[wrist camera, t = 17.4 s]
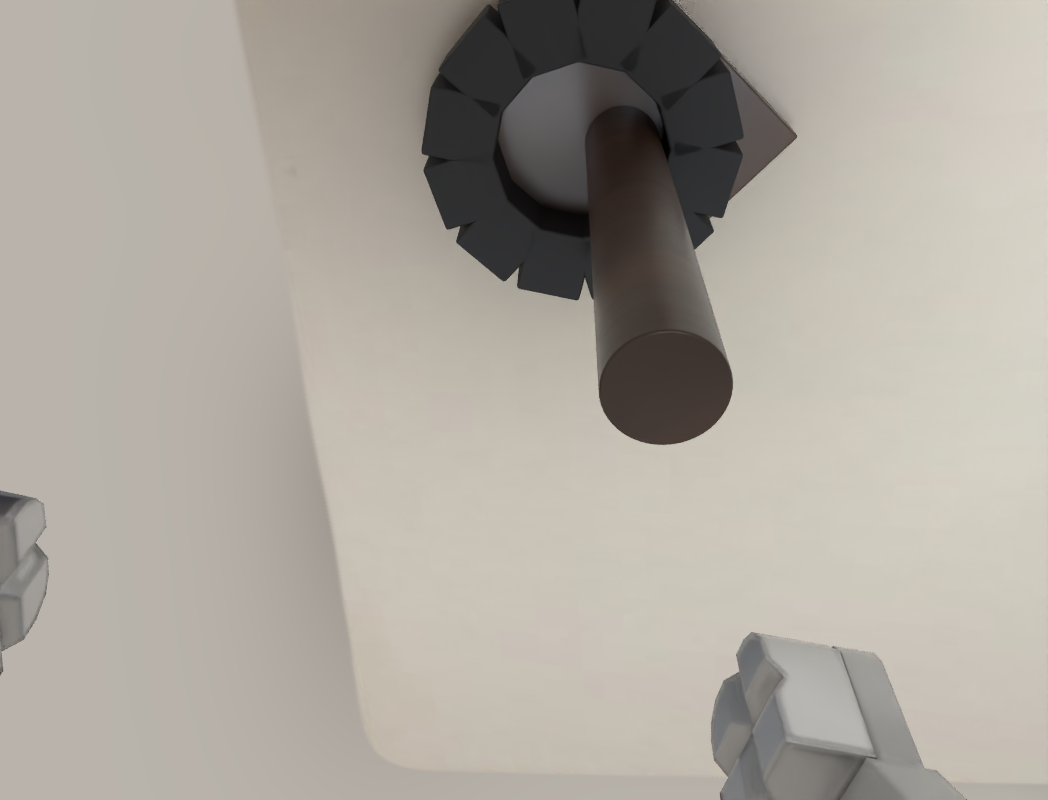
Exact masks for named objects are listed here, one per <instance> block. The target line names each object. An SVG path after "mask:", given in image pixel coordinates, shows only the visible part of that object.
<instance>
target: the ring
mask: <svg viewBox="0 0 1048 800" xmlns="http://www.w3.org/2000/svg"><path fill="white" fill-rule="evenodd" d="M498 10H499V12H498V11H497V10H495V9H494V8H493V7H492V6H491V5H487V6H486V7H485V9H484V10H483V11H482V12H481V14H480V15H479V16H478V17H477V19H476V20H475V21H474V22H473V23H472V25H471V26H470V27H469V28H468V30H467V31H466V32H465V33H464V35H463V36H462V37H461V38H460V39H459V41H458V42H457V43H456V44H455V46H454V47H453V48H452V49H451V51H450V52H449V53H448V54H447V56H446V58H445V59H444V61H443V63H442V65H441V67H440V68H439V72H440V73H439V74H438V76H437V78H436V80H435V82H434V83H433V85H432V87H431V91H430V97H429V104H428V111H427V117H426V124H425V131H424V138H423V144H422V154H424V155H428V156H429V158H428V160H427V163H426V165H425V167H424V173H425V176H426V178H427V181H428V184H429V186H430V189H431V191H432V194H433V196H434V199H435V201H436V204H437V207H438V209H439V212H440V214H441V217H442V219H443V222H444V224H445V227H446V229H452V228H455V227H459V226H460V229H459V233H458V237H457V240H456V242H457V244H459V245H460V246H461V247H462V248H463V249H465V250H466V251H467V252H468V253H470V254H471V255H472V256H473V257H474V258H476V259H477V260H478V261H479V262H480V263H482V264H483V265H484V266H485V267H486V268H488V269H489V270H490V271H491V272H492V273H494V274H495V275H496V276H497V277H498V278H500V279H501V280H502V281H506V280H507V279H508V278H509V277H510V276H511V275H512V274H513V273H514V272H515V271H516V269H517V268H518V267H519V274H518V283H517V287H518V288H519V289H524V290H529V291H533V292H538V293H543V294H548V295H553V296H558V297H563V298H568V299H573V300H578V299H579V298H580V294H581V290H582V286H583V282H584V278H585V279H586V282H587V285H588V288H589V291H590V294H591V297H592V299H593V300H594V296H593V278H592V260H591V242H590V224H589V214H586V215H583V216H582V215H578V214H573V213H568V212H564V211H559V210H554V209H549V208H545V207H542V206H541V205H540V204H539V203H537V202H536V201H535V200H534V199H533V198H532V197H531V196H529V195H528V194H527V193H526V192H525V191H524V190H523V189H521V188H520V187H519V186H518V185H517V184H516V183H515V182H513V181H512V180H511V177H510V174H509V171H508V168H507V165H506V162H505V160H504V157H503V154H502V151H501V148H500V145H499V142H498V135H499V130H500V125H501V120H502V114H503V111H504V110H505V109H506V108H507V106H508V105H509V104H510V103H511V102H512V101H513V100H514V98H515V97H516V96H517V95H518V94H519V93H520V92H521V90H522V89H523V88H524V87H525V86H526V85H527V83H528V82H529V81H530V80H531V79H532V78H533V77H536V76H539V75H542V74H545V73H548V72H550V71H553V70H556V69H559V68H562V67H565V66H568V65H571V64H574V63H577V62H581V63H586V64H590V65H595V66H599V67H604V68H608V69H613V70H617V71H622V72H625V73H626V74H627V75H628V76H629V77H630V78H632V79H633V80H634V81H635V82H636V83H637V84H638V85H639V86H640V87H641V88H642V89H643V90H644V91H645V92H646V93H647V94H648V95H649V96H650V97H651V98H652V99H653V100H654V101H655V102H656V103H657V105H658V109H659V113H660V116H661V120H662V124H663V128H664V134H663V138H662V142H661V143H662V146H663V149H664V153H665V156H666V159H667V162H668V166H669V169H670V172H671V176H672V179H673V182H674V185H675V189H676V192H677V195H678V198H679V202H680V205H681V208H682V212H683V215H684V218H685V221H686V225H687V228H688V231H689V234H690V238H691V241H692V244H693V247H694V250H695V249H696V248H697V247H698V246H699V245H700V244H701V243H702V242H703V241H704V240H705V239H706V238H708V237H709V236H710V235H711V234H712V233H713V231H714V230H713V227H712V225H711V222H710V219H709V217H708V215H709V216H713V217H718V218H722V217H723V216H724V213H725V210H726V207H727V204H728V201H729V198H730V194H731V191H732V188H733V185H734V182H735V179H736V176H737V173H738V170H739V167H740V164H741V161H742V158H743V153H742V151H741V149H740V148H739V146H738V144H737V142H736V141H737V140H741V139H742V138H744V133H743V128H742V124H741V119H740V114H739V110H738V105H737V100H736V96H735V91H734V86H733V82H732V77H731V73H730V71H729V70H728V68H727V67H726V65H725V64H724V62H723V61H722V59H721V57H722V55H721V53H720V52H719V50H718V49H717V47H716V46H715V45H714V43H713V42H712V40H711V39H710V38H709V37H708V36H707V35H706V34H705V33H704V32H703V31H702V30H701V29H700V28H699V27H698V26H697V25H696V24H695V23H694V22H693V21H692V20H691V19H690V18H689V17H688V16H687V15H686V14H685V13H684V12H683V11H682V10H681V9H680V8H679V7H678V6H677V5H676V3H675V2H674V1H673V0H658V1H657V2H656V0H500V1H499V3H498Z"/></svg>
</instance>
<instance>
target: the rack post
mask: <svg viewBox="0 0 1048 800" xmlns="http://www.w3.org/2000/svg"><path fill="white" fill-rule="evenodd" d="M657 1H658V0H656V2H657ZM721 55H722V54H721ZM721 59H722V61H723V62H724V64H725V65H726V67H727V68H728V70H729V71H730V73H731V77H732V82H733V86H734V91H735V96H736V100H737V105H738V110H739V114H740V119H741V124H742V128H743V133H744V138H742V139H741V140H737V141H736V142H737V144H738V146H739V148H740V149H741V151H742V153H743V158H742V161H741V164H740V167H739V170H738V173H737V176H736V179H735V182H734V185H733V188H732V191H731V194H730V198H729V200H730V199H731V198H732V197H733V196H734V195H736V194H737V193H738V192H739V191H740V190H741V189H742V188H743V187H744V186H745V185H746V184H747V183H749V182H750V181H751V180H752V179H753V178H754V177H755V176H756V175H757V174H758V173H759V172H760V171H762V170H763V169H764V168H765V167H766V166H767V165H768V164H769V163H770V162H771V161H772V160H773V159H774V158H776V157H777V156H778V155H779V154H780V153H781V152H782V151H783V150H784V149H785V148H786V147H787V146H789V145H790V144H791V143H792V142H793V141H794V140H795V139H796V138H797V135H796V133H795V132H794V131H793V129H792V128H791V127H790V126H789V125H788V124H787V123H786V122H785V121H784V120H783V119H782V117H781V116H780V115H779V114H778V113H777V112H776V111H775V110H774V109H773V108H772V107H771V106H770V105H769V104H768V103H767V102H766V100H765V99H764V98H763V97H762V96H761V95H760V94H759V93H758V92H757V91H756V90H755V89H754V88H753V87H752V86H751V85H750V83H749V82H748V81H747V80H746V79H745V78H744V77H743V76H742V75H741V74H740V73H739V72H738V71H737V70H736V69H735V67H734V66H733V65H732V64H731V63H730V62H729V61H728V60H727V59H726V58H725V57H724V56H723V55H722V57H721ZM663 134H664V128H663V124H662V120H661V116H660V113H659V109H658V105H657V103H656V102H655V101H654V100H653V99H652V98H651V97H650V96H649V95H648V94H647V93H646V92H645V91H644V90H643V89H642V88H641V87H640V86H639V85H638V84H637V83H636V82H635V81H634V80H633V79H632V78H630V77H629V76H628V75H627V74H626V73H625V72H622V71H617V70H613V69H608V68H604V67H599V66H595V65H590V64H586V63H581V62H577V63H574V64H571V65H568V66H565V67H562V68H559V69H556V70H553V71H550V72H548V73H545V74H542V75H539V76H536V77H533V78H532V79H531V80H530V81H529V82H528V83H527V85H526V86H525V87H524V88H523V89H522V90H521V92H520V93H519V94H518V95H517V96H516V97H515V98H514V100H513V101H512V102H511V103H510V104H509V105H508V106H507V108H506V109H505V110H504V111H503V114H502V120H501V125H500V130H499V135H498V142H499V145H500V148H501V151H502V154H503V157H504V160H505V162H506V165H507V168H508V171H509V174H510V177H511V180H512V181H513V182H515V183H516V184H517V185H518V186H519V187H520V188H521V189H523V190H524V191H525V192H526V193H527V194H528V195H529V196H531V197H532V198H533V199H534V200H535V201H536V202H537V203H539V204H540V205H541V206H542V207H545V208H549V209H554V210H559V211H564V212H568V213H573V214H578V215H582V216H583V215H586V214H589V224H590V242H591V260H592V278H593V296H594V314H595V332H596V350H597V368H598V386H599V398H600V402H601V406H602V408H603V411H604V413H605V414H606V416H607V418H608V419H609V420H610V422H611V423H612V424H613V425H614V426H615V427H616V428H617V429H618V430H620V431H621V432H622V433H624V434H625V435H627V436H629V437H631V438H633V439H635V440H638V441H641V442H645V443H649V444H658V445H667V444H676V443H681V442H684V441H688V440H690V439H693V438H695V437H697V436H699V435H701V434H703V433H704V432H706V431H707V430H708V429H710V428H711V427H712V426H713V425H714V424H715V423H716V422H717V421H718V420H719V419H720V418H721V416H722V415H723V413H724V412H725V410H726V408H727V406H728V404H729V402H730V399H731V395H732V390H733V378H732V372H731V369H730V365H729V362H728V359H727V355H726V352H725V349H724V346H723V342H722V339H721V336H720V333H719V329H718V326H717V323H716V319H715V316H714V313H713V310H712V306H711V303H710V300H709V297H708V293H707V290H706V287H705V283H704V280H703V277H702V274H701V270H700V267H699V264H698V261H697V257H696V254H695V251H694V247H693V244H692V241H691V238H690V234H689V231H688V228H687V225H686V221H685V218H684V215H683V212H682V208H681V205H680V202H679V198H678V195H677V192H676V189H675V185H674V182H673V179H672V176H671V172H670V169H669V166H668V162H667V159H666V156H665V153H664V149H663V146H662V143H661V142H662V138H663ZM708 217H709V219H710V218H711V217H712V216H709V215H708Z"/></svg>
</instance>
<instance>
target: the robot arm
mask: <svg viewBox="0 0 1048 800" xmlns="http://www.w3.org/2000/svg"><path fill="white" fill-rule="evenodd" d="M45 528H46V520H45V510H44V504H43V503H42V502H41V501H39V500H38V499H36V498H32V497H27V496H23V495H18V494H14V493H8V492H4V491H0V675H1V673H2V672H3V666H2V653H1V651H3V650H5V649H7V648H9V647H11V646H13V645H15V644H17V643H18V642H20V641H22V640H24V638H25V636H26V635H27V633H28V632H29V630H30V629H31V627H32V625H33V624H34V622H35V621H36V619H37V616H38V613H39V611H40V608H41V605H42V603H43V600H44V597H45V595H46V588H47V582H48V575H49V573H48V558H47V556H46V555H45V554H44V552H43V551H42V550H41V549H40V548H39V547H38V545H37V544H36V543H35V542H36V541H37V539H38V538H39V537H40V535H41V534H42V532H43V531H44V530H45ZM736 656H737V661H738V666H739V671H740V672H738V673H736V674H734V675H733V676H731V677H729V678H727V679H726V680H724V681H723V683H722V686H721V688H720V690H719V693H718V695H717V697H716V700H715V704H714V710H713V715H712V721H711V743H712V749H713V756H714V761H715V762H716V763H717V764H718V766H719V767H720V768H721V769H722V770H723V772H724V773H725V774H726V775H727V776H728V779H727V781H726V783H725V785H724V787H723V788H722V791H721V792H720V798H721V800H967V799H965V798H964V797H963V796H962V795H961V794H960V793H959V792H958V791H957V790H956V789H955V788H954V787H953V786H952V785H951V784H950V783H949V782H948V781H947V780H946V779H945V778H944V777H943V776H942V775H941V774H940V773H939V772H938V771H936V770H931V769H926V768H924V766H923V763H922V761H921V758H920V756H919V753H918V751H917V748H916V746H915V743H914V741H913V738H912V736H911V733H910V731H909V728H908V726H907V723H906V721H905V718H904V716H903V713H902V711H901V708H900V706H899V703H898V701H897V698H896V696H895V693H894V691H893V688H892V686H891V683H890V681H889V678H888V675H887V673H886V670H885V668H884V665H883V663H882V661H881V659H880V658H879V657H878V656H877V655H876V654H875V653H871V652H865V651H859V650H853V649H848V648H842V647H836V646H833V647H830V646H827V645H821V644H816V643H810V642H804V641H799V640H793V639H788V638H782V637H777V636H771V635H765V634H760V633H754V632H751V633H750V634H749V635H748V636H747V637H746V638H745V639H744V640H743V642H742V644H741V646H740V648H739V650H738V652H737V654H736Z"/></svg>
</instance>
